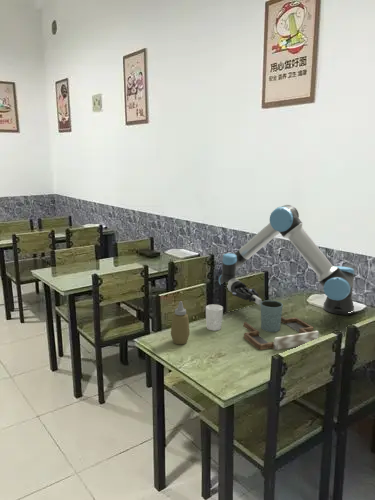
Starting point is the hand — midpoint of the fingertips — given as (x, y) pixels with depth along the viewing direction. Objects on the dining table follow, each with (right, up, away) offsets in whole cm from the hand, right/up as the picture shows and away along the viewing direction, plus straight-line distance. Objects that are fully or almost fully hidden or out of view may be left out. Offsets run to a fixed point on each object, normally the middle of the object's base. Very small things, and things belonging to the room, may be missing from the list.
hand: (260, 302), depth 200 cm
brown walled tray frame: (+6, -13, -12) cm, 19 cm away
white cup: (-23, -11, -7) cm, 26 cm away
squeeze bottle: (-38, -14, -22) cm, 46 cm away
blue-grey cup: (+3, -11, -6) cm, 13 cm away
